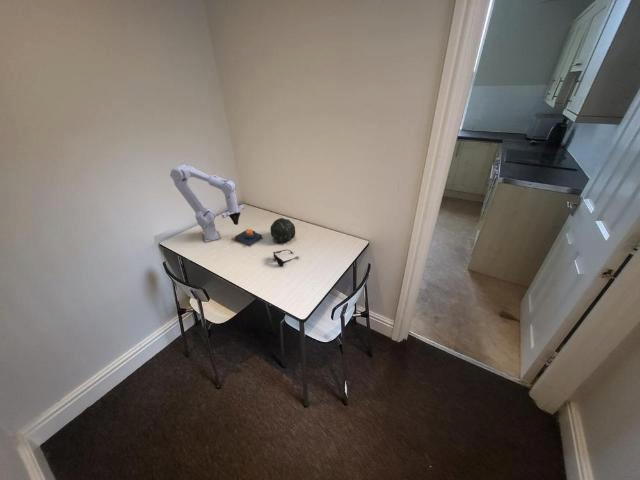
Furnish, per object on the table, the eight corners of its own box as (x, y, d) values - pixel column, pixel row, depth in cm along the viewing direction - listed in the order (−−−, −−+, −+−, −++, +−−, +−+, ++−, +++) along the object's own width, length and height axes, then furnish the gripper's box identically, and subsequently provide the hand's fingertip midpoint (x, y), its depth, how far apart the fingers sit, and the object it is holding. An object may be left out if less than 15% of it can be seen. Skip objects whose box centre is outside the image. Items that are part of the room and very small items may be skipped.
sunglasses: (270, 258, 136) (270, 250, 134) (289, 253, 143) (290, 245, 141) (280, 268, 129) (280, 260, 127) (300, 262, 136) (300, 254, 134)
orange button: (244, 234, 150) (244, 231, 149) (249, 231, 152) (249, 228, 151) (249, 236, 148) (248, 233, 147) (254, 233, 151) (254, 230, 149)
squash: (294, 221, 160) (277, 208, 150) (303, 233, 149) (286, 220, 139) (279, 238, 161) (261, 226, 151) (287, 251, 150) (268, 239, 140)
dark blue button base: (235, 239, 152) (234, 233, 150) (248, 232, 159) (247, 226, 157) (249, 246, 147) (248, 239, 144) (262, 238, 154) (261, 231, 151)
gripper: (225, 209, 133) (230, 231, 141) (246, 199, 144) (250, 221, 151) (217, 205, 137) (222, 227, 144) (238, 196, 147) (242, 217, 154)
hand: (236, 224), depth 148 cm, fingers closed
